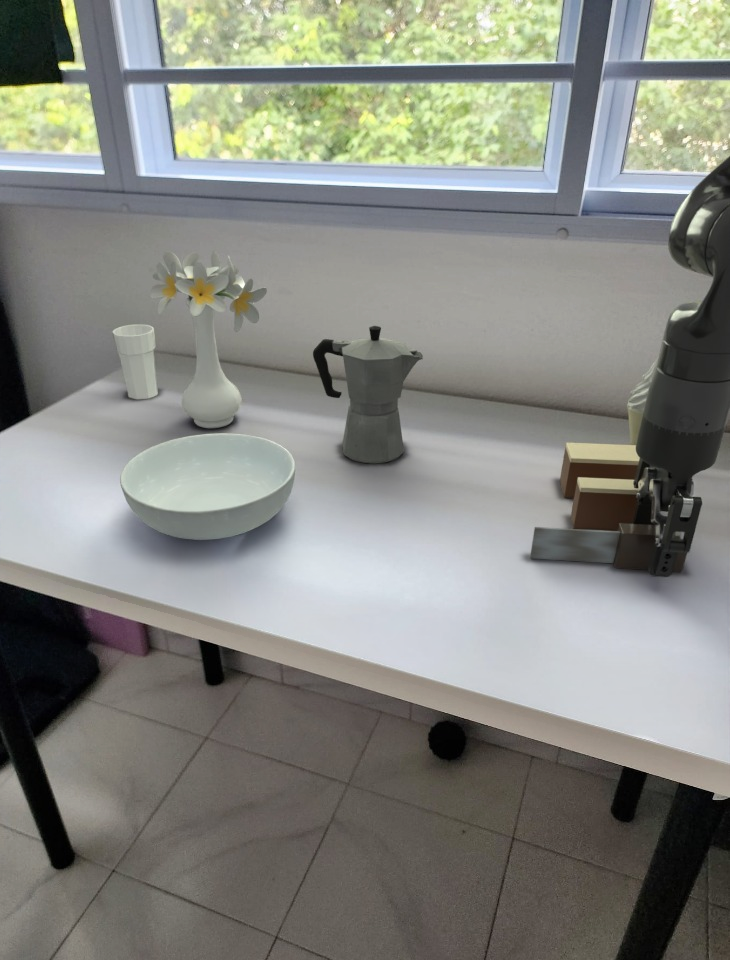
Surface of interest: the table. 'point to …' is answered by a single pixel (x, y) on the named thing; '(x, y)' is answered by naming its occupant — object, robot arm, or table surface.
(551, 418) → the table surface
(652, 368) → the ice cream cone
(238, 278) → the flower vase
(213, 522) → the serving bowl
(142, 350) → the cup
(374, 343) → the coffeepot
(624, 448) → the cake
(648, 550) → the knife
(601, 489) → the cake slice
